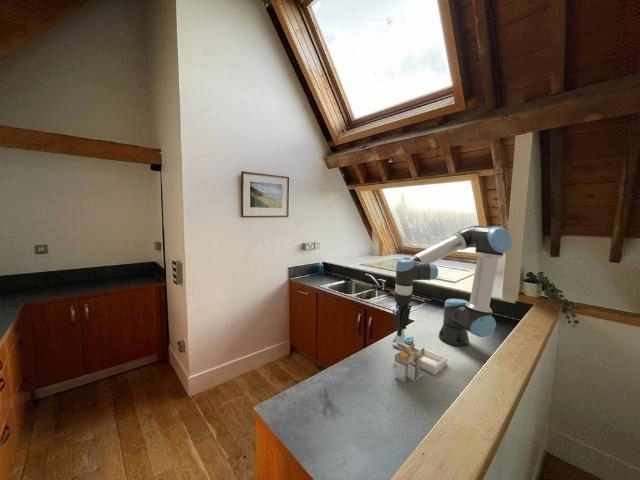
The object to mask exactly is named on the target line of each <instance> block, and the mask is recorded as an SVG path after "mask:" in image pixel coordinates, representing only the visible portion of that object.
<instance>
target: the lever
mask: <svg viewBox="0 0 640 480" xmlns="http://www.w3.org/2000/svg"><path fill="white" fill-rule="evenodd" d="M391 345H392V346H393V347H395V348H397V349H399V350H400V351H399V352H396V353H395V354H394V362H398V363H400V364H402V365H404V366H406V367H407V366H408V367H409V366H410V365H412V364H411V363H412V362H414V361H415V360H417V359H418V358H419V357H421V356H422V355H424V351H425V349H426V348H424V347H421V348H422V349H421V348H420V349H421V350H420V349H417V348H416V347H415V344H414V343H412V344H404V343H400V342H397V341H396V342H394V343H393V342H392V343H391ZM402 352H406V353H407V355H408V358H407V359H405V358H403V357H400V354H401V353H402Z"/></svg>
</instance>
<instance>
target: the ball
mask: <svg viewBox="0 0 640 480" xmlns="http://www.w3.org/2000/svg"><path fill="white" fill-rule="evenodd" d="M400 357H403V358H405V359H407V358H408V355H407V353H406V352H402V353H401V354H400Z"/></svg>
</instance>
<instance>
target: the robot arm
mask: <svg viewBox="0 0 640 480" xmlns="http://www.w3.org/2000/svg"><path fill="white" fill-rule="evenodd" d="M512 244H513V239H512V234H511V233H510V232H509V230H507V229H506V228H505V227H500V226H492V225H491V226H490V225H489V226H488V225H472V226H468V227H466V228H463V229H461V230H459V231H457V232H454V233H452V235H451V237H448V238H447V239H444V240H442V241H441V242H438V243H437V244H434V245H432V246H430V247H428V248H427V249H425V250H422V251H421V252H418V253H417V254H413V255H412V256H410V257H406V256H405V257H401V258H399V259H398V260H397V261H396V267H395V285H394V286H395V288H394V291H395V292H394V301H395V302H396V305H395V308H394V309H392V314H393V324H394V328H395V330H396V329H397V330H396V334H397V342H400V343H403V342H404V335H405V330H407V327H408V325H409V324H408V323H409V319H410V313H411V309H412V305H411V304H410V303H412V298H413V295H412V294H413V283H414V281H432V280H436V279H437V278H438V276H439V269H438V267H437V265H436V264H434V263H436V262H437V261H439V260H442V259H443V258H446V257H447V256H450V255H451V254H453V253H455V252H457V251H460V250H461V251H463V250H466V249H469V248H475V251H474V253H476V255H477V260H476V264H475V270H474V277H473V281H472V287H471V292H470V298H469V301H468V300H466V299H462V298H461V299H459V298H447V299H446V300H445V301H444V308H443V320H442V321H443V323H442V325H441V328H440V330H439V332H438V338H439V340H440V341H441V342H443V343H445V344H447V345H450V346H453V347H467V346H469V344H470V337H469V333H471V334H472V335H474V336H476V337H479V338H485V337H486V338H487V337H488V336H489V335H491V334H492V333H493V332H494V331H495V330H496V329H495V328H496V325H497V322H496V319H495V318H494V317H493V316H492V315H493V310H492V308H491V307H490V305H491V301H492V300H491V299H492V295H493V289H494V283H495V279H496V274H497V268H498V263H499V260H500V259H501V258H502V257H504V254H505V253H506V252H508V251H509V250H510V249H511V247H512ZM468 332H469V333H468Z"/></svg>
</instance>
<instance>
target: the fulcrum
mask: <svg viewBox="0 0 640 480" xmlns="http://www.w3.org/2000/svg"><path fill="white" fill-rule="evenodd" d="M395 362H396V361H395ZM414 362H415V365H414V367H415V368H414V369H413V368H411V367H410V366H409V365H408V366H407V367H406V366H404V365H402V364H400V363H398V362H396V363H395V370H394V373H395V374H394V377H395V379H397V380H398V381H400V382H402V383H404V384H405V383H407V382H408V380H409V381H411V382H412V383H416V382H418V381H419V379H421V378H422V377H423V376H424V374H423V373H421V368H420V362H421V359H419V358H418V359H417V360H415V361H414Z"/></svg>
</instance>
